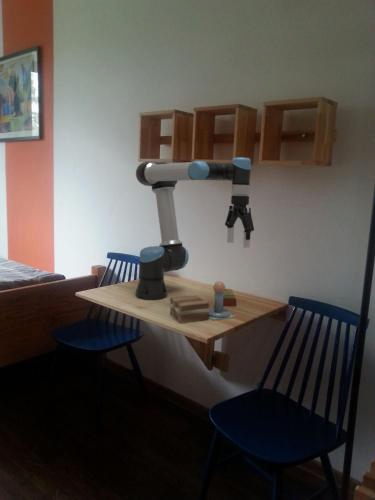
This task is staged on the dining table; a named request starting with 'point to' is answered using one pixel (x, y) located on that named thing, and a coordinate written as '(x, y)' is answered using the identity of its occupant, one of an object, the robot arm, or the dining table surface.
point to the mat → (221, 318)
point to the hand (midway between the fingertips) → (237, 245)
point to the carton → (229, 298)
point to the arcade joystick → (219, 302)
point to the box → (189, 309)
